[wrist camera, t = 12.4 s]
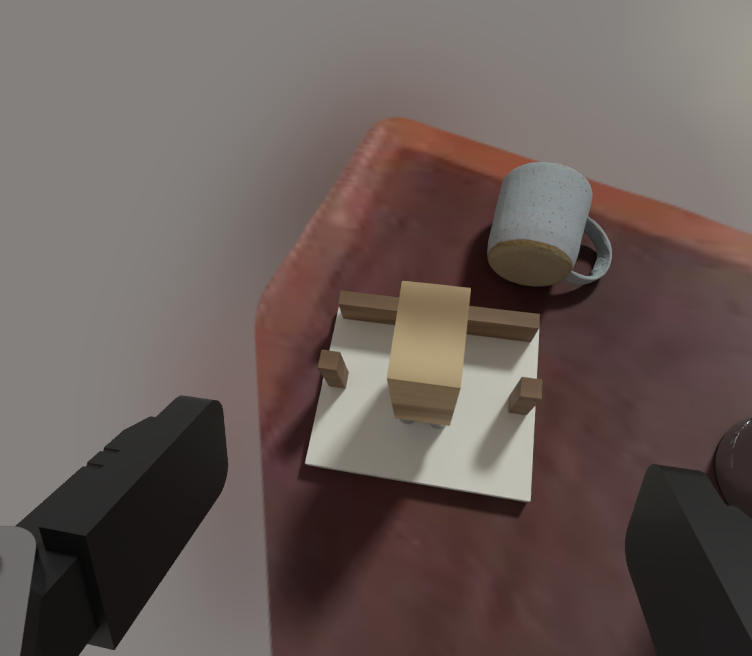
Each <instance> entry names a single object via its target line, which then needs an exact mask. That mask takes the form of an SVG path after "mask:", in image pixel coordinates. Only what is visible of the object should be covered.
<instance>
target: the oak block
mask: <svg viewBox="0 0 752 656" xmlns="http://www.w3.org/2000/svg"><path fill="white" fill-rule="evenodd" d="M470 292H471V288H465V287H456V286H446V285H437V284H427V283H418V282H409V281H402V285H401V291H400V298H399V304H398V310H397V316H396V323H395V329H394V335H393V341H392V348H391V354H390V360H389V366H388V373H387V383H388V387H389V392H390V397H391V402H392V407H393V412H394V417H395V418H398V419H405V420H412V421H419V422H426V423H433V424H440V425H447V426H450V424H451V420H452V417H453V413H454V410H455V406H456V403H457V399H458V396H459V393H460V389H461V381H462V371H463V362H464V352H465V342H466V332H467V322H468V312H469V302H470Z"/></svg>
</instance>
